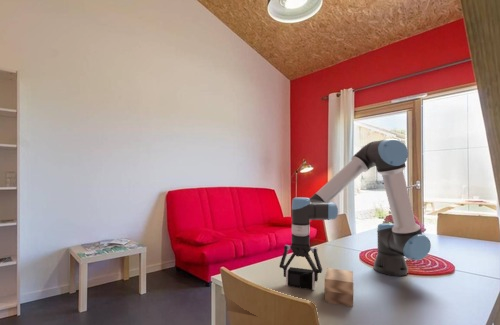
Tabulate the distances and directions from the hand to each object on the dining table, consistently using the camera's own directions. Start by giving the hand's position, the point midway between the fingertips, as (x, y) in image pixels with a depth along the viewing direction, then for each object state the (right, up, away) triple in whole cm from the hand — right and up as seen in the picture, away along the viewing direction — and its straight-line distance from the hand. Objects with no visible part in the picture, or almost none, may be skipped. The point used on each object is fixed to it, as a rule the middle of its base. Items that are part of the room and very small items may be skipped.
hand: (300, 286), depth 121 cm
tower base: (+14, 0, -9) cm, 17 cm away
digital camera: (0, 0, 0) cm, 1 cm away
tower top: (+14, +4, -9) cm, 17 cm away
